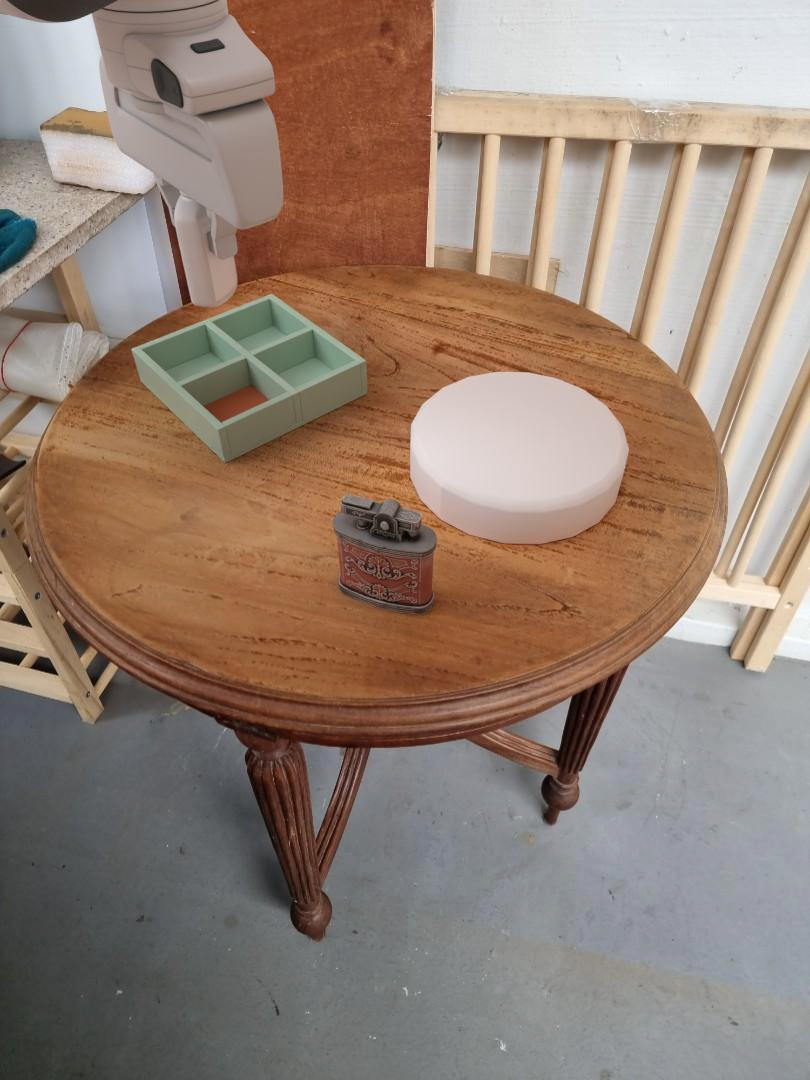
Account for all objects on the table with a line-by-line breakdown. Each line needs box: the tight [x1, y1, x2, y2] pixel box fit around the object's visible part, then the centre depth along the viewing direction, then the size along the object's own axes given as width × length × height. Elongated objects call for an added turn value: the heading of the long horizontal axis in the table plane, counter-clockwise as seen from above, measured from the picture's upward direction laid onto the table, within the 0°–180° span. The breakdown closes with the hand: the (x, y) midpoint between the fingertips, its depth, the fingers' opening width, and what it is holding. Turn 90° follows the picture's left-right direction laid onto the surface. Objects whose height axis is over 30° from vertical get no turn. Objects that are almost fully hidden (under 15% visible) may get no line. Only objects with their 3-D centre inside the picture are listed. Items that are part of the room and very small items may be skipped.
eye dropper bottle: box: [174, 191, 238, 308], centre depth 62 cm, size 4×6×12 cm
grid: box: [131, 293, 368, 464], centre depth 81 cm, size 17×17×4 cm
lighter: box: [332, 494, 438, 615], centre depth 60 cm, size 8×3×10 cm, turn 71°
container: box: [409, 371, 630, 545], centre depth 72 cm, size 20×20×5 cm
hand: (205, 241), depth 63 cm, fingers closed on eye dropper bottle, 4 cm apart
